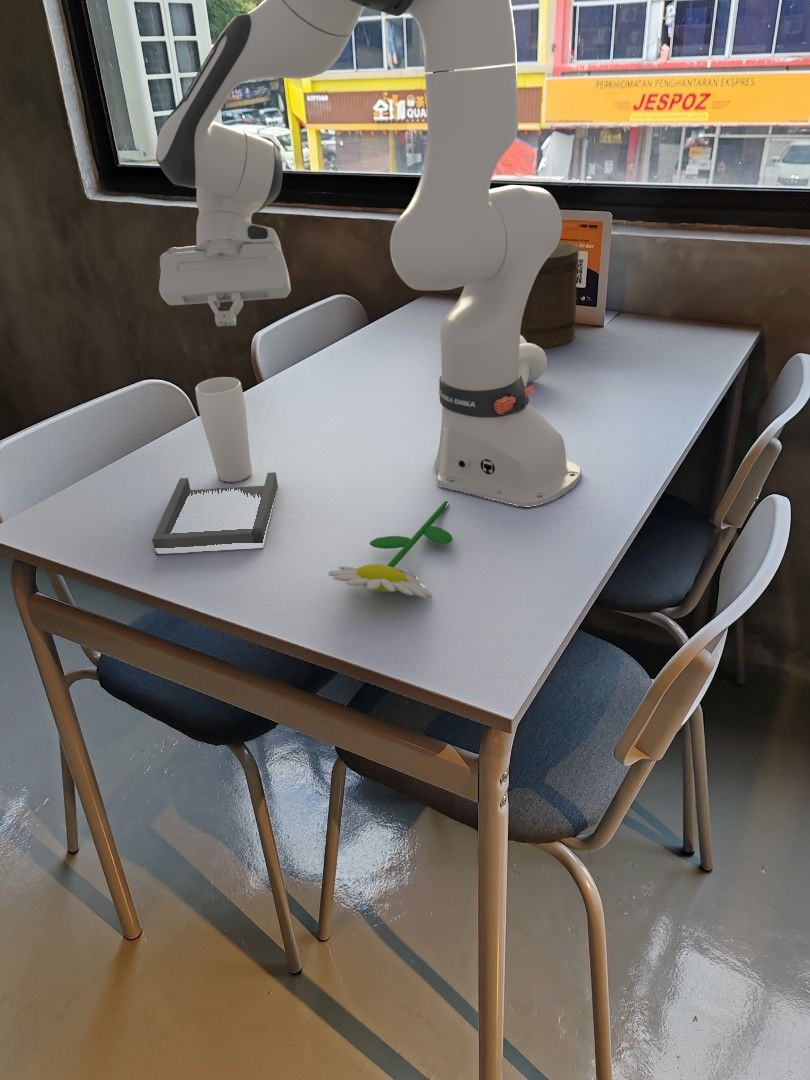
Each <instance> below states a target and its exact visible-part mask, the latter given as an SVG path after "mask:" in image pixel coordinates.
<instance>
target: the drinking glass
mask: <svg viewBox="0 0 810 1080" xmlns="http://www.w3.org/2000/svg"><path fill="white" fill-rule="evenodd" d="M194 388H195V389H194V390H195V397H196V401H197V402H196V403H197V408H198V412H199V417H200V419H201V420H200V421H201V423H202V427H203V430H204V433H205V436H206V439H207V442H208V446H209V449H210V452H211V457H212V459H213V462H214V466H215V467H214V468H215V471H216V475H217V478H218V479H219V480H220V481H222V482H224V481H225V482H224V483H229V482H233V483H237V482H236V481H239V482H243V481H244V479H245V480H247V479H248V478H249V477H251V475H252V472H253V469H252V462H251V455H250V454H251V453H250V446H249V445H250V444H249V442H250V441H249V434H248V433H249V432H248V420H247V418H248V417H247V412H246V411H247V410H246V403H245V396H244V392H243V387H242V383H241V381H240V380H239V379H237V378H236V377H231V376H230V377H228V376H220V377H219V376H218V377H213V378H209V379H206V380H203V381H201V382H199V383H198V384H197V385H196V386H195V387H194Z"/></svg>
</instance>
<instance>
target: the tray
mask: <svg viewBox="0 0 810 1080" xmlns="http://www.w3.org/2000/svg"><path fill="white" fill-rule="evenodd" d="M277 478H278V477H277V473H276V472H273V471H272V472H267V474H266V477H265V482H264V485H252V486H250V485H249V486H237V487H238V488H237V487H236V486H235V487H234V486H233V487H234V491H235V490H237V489H238V491H239V489H240V491H241V493H242V491H243V493H244V495H245V493H246V495H247V497H248V493H250V495H251V496H252V495H253V497H254V498H255V495H256V494H257V496H258V498H259V495H260V497H261V500H260V504H259V507H258V511H257V515H256V519H255V522H254V526H253V529H237V530H221V531H204V532H188V533H172V534H170V533H171V531H172V529H173V527H174V525H175V523H176V520H177V518H178V517H179V514H180V512H181V510H182V508H183V506H184V504H185V501H186V499H187V497H188V496H189V495H190V493H191V496H192V495H193V492H194V494H197V492H198V493H200V494H201V492H202V491H203V495H204V492H206V493H207V491H208V493H209V490H210V491H212V494H213V491H214V490H215V492H216V490H217V492H218V494H219V490H220V489H221V493H222V491H223V490H225V491H227V489H228V491H229V488H230V491H231V489H233V487H219V488H218V487H217V488H203V489H202V488H201V489H191V486H190V482H189V481H190V480H189V477H180V478H179V479H178V481H177V484H176V486H175V489H174V490H173V492H172V495H171V497H170V499H169V501H168V504H167V505H166V508H165V510H164V511H163V512H164V513H163V515H162V517H161V518H160V520H159V523H158V526H157V527H156V530H155V532H154V534H153V537H151V540H152V545H153V548H175V547H190V546H191V547H193V546H207V545H215V544H216V545H218V544H220V545H221V544H232V543H263V539H264V535H265V531H266V527H267V524H268V520H269V517H270V513H271V509H272V505H273V502H274V498H275V495H276V496H277V494H276V491H277V492H278V490H277V487H278V488H279V484H278V479H277ZM205 490H206V491H205ZM254 494H255V495H254ZM275 499H276V498H275ZM274 503H275V502H274Z"/></svg>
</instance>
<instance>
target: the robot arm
mask: <svg viewBox="0 0 810 1080" xmlns="http://www.w3.org/2000/svg"><path fill="white" fill-rule="evenodd" d="M365 8H366V9H368V10H373V11H377V12H381V13H384V14H388V15H390V16H393V17H400V16H401V15H403V14H404V13H406V14H408V15H410V16H411V17H412V18H413V19H414V20H415V22H416V23H417V25H418V27H419V30H420V34H421V38H422V44H423V46H422V47H423V60H424V63H423V64H424V73H425V74H424V77H425V78H424V79H425V97H426V112H427V113H426V117H427V118H426V119H427V123H426V124H427V125H426V126H427V143H426V153H425V159H424V164H423V168H422V172H421V176H420V179H419V182H418V185H417V188H416V190H415V192H414V195H413V196H412V198H411V200H410V202H409V204H408V205H407V207H406V209H405V210H404V212H402V214H401V215H400V216H399V218H397V220H396V222H395V223H394V225H393V228H392V230H391V234H390V241H389V251H390V258H391V262H392V265H393V267H394V270H395V272H396V273H397V275H398V276H399V278H400V279H401V280H402V282H404V283H405V284H406V285H407V286H408V287H410V288H411V289H413V290H415V291H447V290H448V291H449V290H450V291H451V290H453V289H457V288H460V287H463V290H462V292H461V294H460V297H459V299H458V300H457V302H456V304H455V305H454V306H453V307H452V308H451V309H450V310H449V312H448V313H447V314H445V317H444V318H443V320H442V322H441V323H442V324H441V326H440V331H439V333H440V338H439V339H440V354H441V355H440V356H441V357H440V360H441V363H440V364H441V375H440V377H439V379H438V381H439V383H438V385H439V386H438V387H439V388H438V394H439V402H440V404H441V406H442V407H441V409H442V412H441V414H442V415H441V425H440V427H441V428H440V437H439V443H438V444H439V445H438V450H437V454H436V458H435V461H434V469H435V471H436V473H437V480H436V484H437V486H438V487H439V486H441V487H440V488H442V487H444V488H443V489H446V488H449V489H448V490H450V489H452V490H451V491H454V490H457V491H456V492H458V491H461V492H460V493H462V492H465V493H464V494H466V493H470V494H474V495H478V496H481V497H480V498H482V497H487V498H490V499H495V500H499V501H503V502H507V503H512V504H516V505H519V506H524V507H525V506H533V505H538V504H541V503H545V502H548V501H551V500H553V499H555V498H557V497H559V496H561V495H562V494H564V495H565V494H567V493H568V492H569V490H570V489H571V490H572V489H573V488H575V485H576V486H577V485H578V483H579V482H580V480H581V478H582V468H581V466H580V465H578V464H575V463H574V462H572V461H570V460H568V459H567V454H566V447H565V446H566V445H565V441H564V439H563V436H562V434H560V433H559V432H558V431H557V430H556V429H555V428H554V427H553V425H551V424H550V423H549V421H548V420H546V419H545V418H544V417H543V416H542V414H540V412H539V411H537V410H536V409H535V407H534V406H533V405H531V403H530V402H529V400H530V399H529V396H530V395H532V394H534V393H535V390H534V388H535V387H536V386H535V384H532V385H530V386H529V387H525V385H524V382H523V380H522V377H521V374H520V373H519V346H520V330H521V322H522V317H523V313H524V309H525V305H526V302H527V299H528V296H529V293H530V291H531V288H532V285H533V283H534V281H535V278H536V276H537V274H538V272H539V270H540V269H541V267H542V265H543V264H544V262H545V261H546V260H547V258H548V257H549V256H550V255H551V254H552V253H553V251H554V250H555V249H556V247H557V245H558V243H559V241H561V237H562V236H561V235H562V231H563V220H562V215H561V209H560V208H559V204H558V203H557V201H556V199H555V198H554V196H553V195H552V194H551V193H550V192H549V191H548V190H546V189H544V188H543V187H540V186H532V185H531V186H530V185H517V184H516V185H515V184H509V185H504V186H500V187H495V188H494V187H493V188H490V187H491V183H492V179H493V175H494V172H495V171H496V168H497V165H498V163H499V161H500V159H501V158H502V157H503V156H504V155H505V153H507V151H508V150H510V148H511V147H512V146H513V144H514V143H515V140H516V138H517V136H518V131H519V113H518V112H519V111H518V110H519V109H518V107H519V105H518V67H517V66H518V65H517V63H518V62H517V61H518V60H517V42H516V29H515V22H514V14H513V7H512V1H511V0H263V1H262V2H261V3H259V5H257V6H256V7H254V9H252V10H251V11H249V12H248V13H242V14H237V15H235V16H234V17H233V18H232V19H231V20H230V21H229V22H228V23H227V25H226V26H225V28H224V29H223V31H222V32H221V33H220V35H219V37H218V38H217V40H216V41H215V43H214V45H213V46H212V48H211V49H210V51H209V52H208V55H207V56H206V57H205V59H204V61H203V62H202V64H201V66H200V68H199V70H198V71H197V73H196V75H195V76H194V78H193V80H192V82H191V83H190V85H189V87H188V88H187V89H186V92H185V93H184V94H183V97H182V98H181V100H180V101H179V103H178V104H177V105H176V107H175V108H174V109H173V111H171V113H170V114H169V115H168V117H166V119H165V121H164V123H163V125H162V126H161V129H160V131H159V133H158V137H157V142H156V150H155V151H156V152H155V157H156V161H157V163H158V166H159V167H160V169H161V170H162V172H163V173H164V175H165V176H166V177H167V178H168V179H169V181H170V182H171V183H172V184H173V185H176V186H181V187H185V188H191V189H196V205H197V208H198V216H197V220H196V245H191V246H189V245H188V246H183V247H177V246H175V247H174V246H173V247H170V248H168V250H166V251H164V252H163V253H162V254H161V255H160V257H159V269H160V275H159V281H158V282H159V283H158V291H159V294H160V296H161V298H162V299H163V300H164V301H165V302H166V304H168V305H169V306H180V305H181V306H182V305H194V304H195V305H197V304H208V305H209V306H210V308H211V310H212V312H213V313H214V321H215V322H214V323H215V324H216V326H217V327H226V326H227V327H229V326H231V327H232V326H237V316H238V314H239V313H240V312H241V310H242V308H243V307H244V301H257V300H271V299H273V300H275V299H285V298H287V297H288V295H290V293H291V291H292V290H291V280H290V274H289V270H288V266H287V264H286V263H287V262H286V260H285V257H284V254H283V251H282V250H283V249H282V246H281V245H282V243H281V241H280V239H279V236H278V234H277V232H276V231H275V229H274V228H273V227H269V226H268V227H267V226H263V225H259V224H256V223H255V224H254V223H252V217H253V214H254V213H259V212H261V211H262V210H264V209H265V208H266V207H267V206H269V205H270V204H271V203H273V202H274V201H275V200H276V199H277V197H278V196H279V194H280V192H281V189H282V185H283V184H282V183H283V175H284V174H283V173H284V167H283V160H282V157H281V155H280V152H279V150H278V148H277V146H276V145H275V144H274V142H273V141H270V140H268V139H266V138H263V137H261V136H259V135H255V134H253V133H250V132H247V131H244V130H240V129H237V128H234V127H232V126H228V125H225V124H221V123H219V122H217V121H214V120H215V118H216V117H217V116H218V114H219V112H220V111H221V109H222V108H223V106H224V104H225V102H226V101H227V100H228V98H229V96H230V94H231V93H232V91H233V90H234V89H235V88H236V87H237V86H239V85H241V84H242V83H245V82H247V81H250V80H251V81H252V80H258V79H269V78H270V79H272V78H273V79H275V78H276V79H278V78H279V79H281V78H282V79H294V80H295V79H296V80H298V79H299V80H300V79H308V78H312V77H315V76H318V75H321V74H324V73H325V72H326V71H328V70H330V69H331V68H332V67H333V66H334V65H335V63H336V62H337V61H338V60H339V59H340V57H341V55H342V53H343V52H344V50H345V49H346V46H347V45H348V43H349V40H350V38H351V36H352V35H353V32H354V30H355V28H356V25H357V23H358V21H359V19H360V17H361V14H362V12H363V10H365ZM509 64H510V65H509ZM226 302H227V303H228V302H232V305H231V307H230V308H229V310H219V309H218V308H220V306H221V303H226ZM571 490H570V491H571ZM567 491H568V492H567ZM566 492H567V493H566ZM470 494H469V495H470ZM474 495H473V496H474ZM478 496H477V497H478ZM562 496H563V495H562ZM562 496H561V497H562ZM559 498H560V497H559ZM490 499H489V500H490ZM557 499H558V498H557ZM555 500H556V499H555ZM553 501H554V500H553ZM551 502H552V501H551ZM548 503H549V502H548Z"/></svg>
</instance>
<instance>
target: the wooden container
mask: <svg viewBox="0 0 810 1080" xmlns="http://www.w3.org/2000/svg"><path fill="white" fill-rule="evenodd" d="M578 262H579V246H577V245H576V244H574V243H572V242H568V241H563V240H560V241H559V243H558V245H557V247H556V249H555V250H554V251H553V253H552V254H551V255H550V256H549V257H548V258H547V260H546V261H545V262H544V264H543V265H542V267H541V269H540V270H539V272H538V274H537V276H536V278H535V281H534V283H533V285H532V288H531V291H530V293H529V296H528V299H527V302H526V305H525V309H524V313H523V317H522V322H521V330H520V335H521V336H523V337H524V339H525V340H526V342H527V343H531V344H535V345H537V346H539V347H540V348H541V349H543V348H545V349H547V348H553V347H559V346H562V345H565V344H567V343H570V342H571V341H572V340H573V339H574V337H575V331H576V330H575V329H576V315H577V314H576V312H577V282H578V281H577V279H578V278H577V276H578V275H577V274H578V264H579V263H578Z"/></svg>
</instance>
